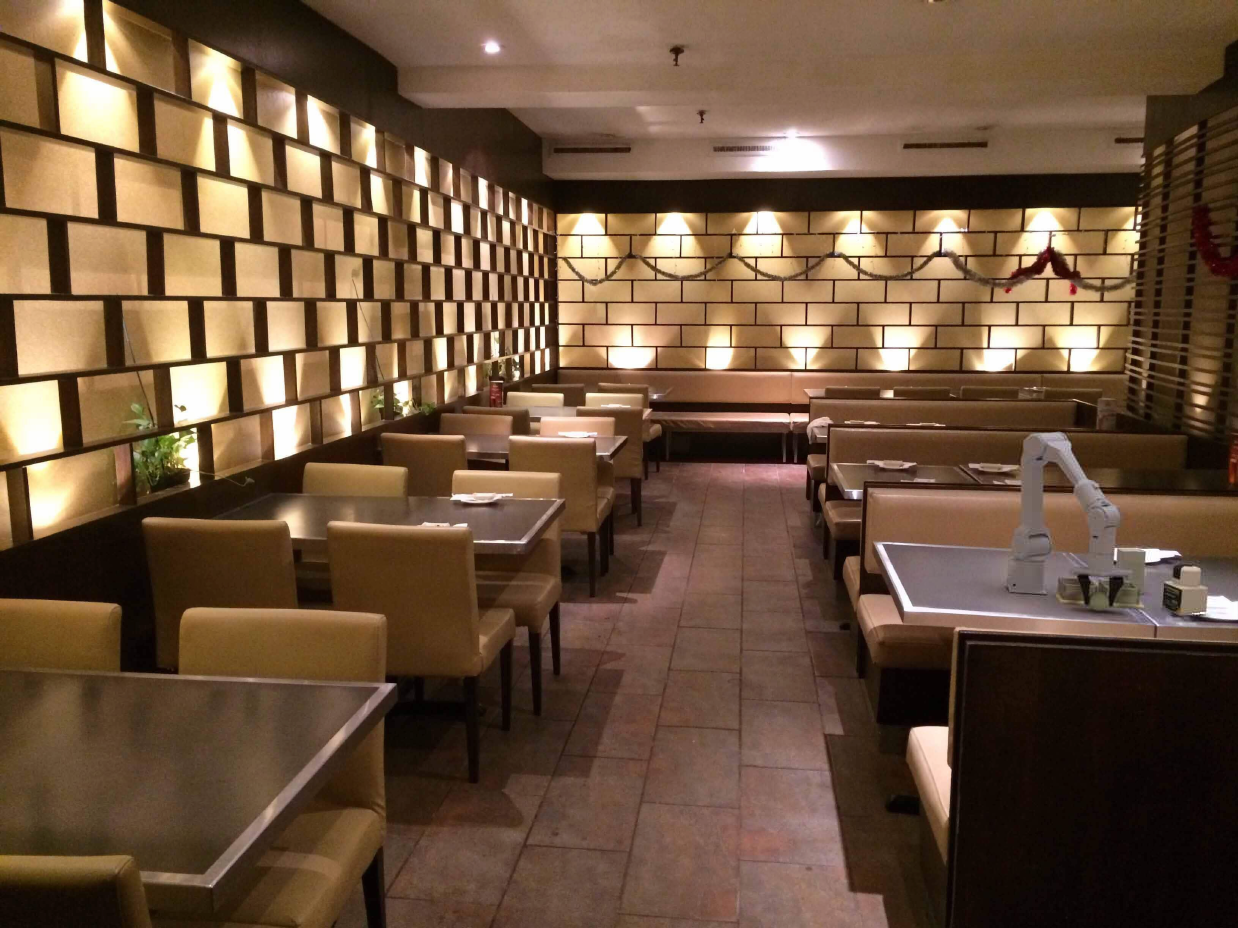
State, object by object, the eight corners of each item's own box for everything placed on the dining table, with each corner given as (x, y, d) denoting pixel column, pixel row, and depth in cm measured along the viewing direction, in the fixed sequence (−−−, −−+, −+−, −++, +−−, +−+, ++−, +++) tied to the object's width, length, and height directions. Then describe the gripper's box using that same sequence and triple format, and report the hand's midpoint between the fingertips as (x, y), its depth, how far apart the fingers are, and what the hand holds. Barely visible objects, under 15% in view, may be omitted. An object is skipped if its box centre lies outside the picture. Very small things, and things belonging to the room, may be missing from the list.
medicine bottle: (1161, 608, 250) (1164, 562, 249) (1187, 607, 251) (1191, 562, 249) (1179, 615, 243) (1183, 569, 242) (1206, 615, 244) (1210, 568, 242)
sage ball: (1089, 612, 246) (1090, 593, 245) (1085, 607, 251) (1086, 588, 250) (1110, 614, 244) (1112, 594, 244) (1106, 608, 249) (1107, 589, 249)
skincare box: (1136, 590, 267) (1139, 548, 266) (1143, 594, 263) (1146, 551, 262) (1113, 590, 268) (1116, 547, 266) (1120, 594, 264) (1123, 550, 262)
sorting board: (1060, 603, 254) (1061, 586, 253) (1053, 593, 264) (1054, 576, 264) (1145, 609, 249) (1146, 592, 248) (1134, 598, 259) (1135, 581, 259)
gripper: (1073, 554, 244) (1070, 606, 245) (1137, 557, 240) (1133, 610, 242) (1068, 548, 250) (1065, 599, 252) (1130, 551, 247) (1126, 603, 248)
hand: (1098, 604), depth 247 cm, fingers closed on sage ball, 5 cm apart
